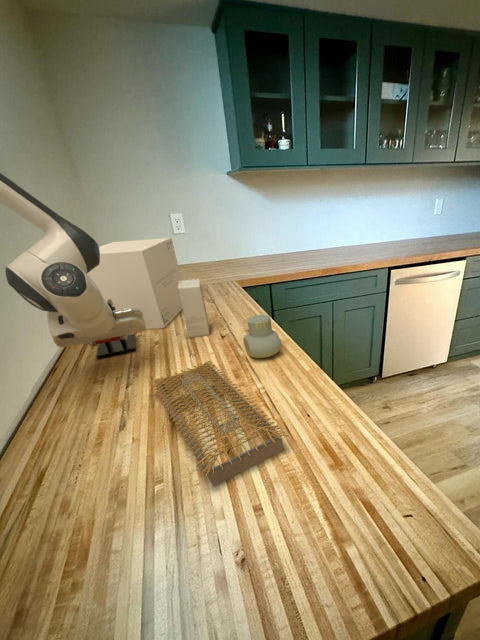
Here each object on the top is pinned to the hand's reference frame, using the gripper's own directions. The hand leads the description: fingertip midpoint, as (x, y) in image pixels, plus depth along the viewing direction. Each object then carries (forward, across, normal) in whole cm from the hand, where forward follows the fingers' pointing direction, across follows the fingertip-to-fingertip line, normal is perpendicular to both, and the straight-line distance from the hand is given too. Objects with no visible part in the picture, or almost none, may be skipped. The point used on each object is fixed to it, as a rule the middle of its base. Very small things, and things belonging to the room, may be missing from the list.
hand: (109, 340), depth 90 cm
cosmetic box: (+10, -24, -1) cm, 26 cm away
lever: (+2, 0, -5) cm, 6 cm away
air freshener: (-8, -37, +17) cm, 41 cm away
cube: (+28, -10, -20) cm, 35 cm away
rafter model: (-24, -19, +33) cm, 45 cm away
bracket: (+10, 0, -2) cm, 11 cm away
